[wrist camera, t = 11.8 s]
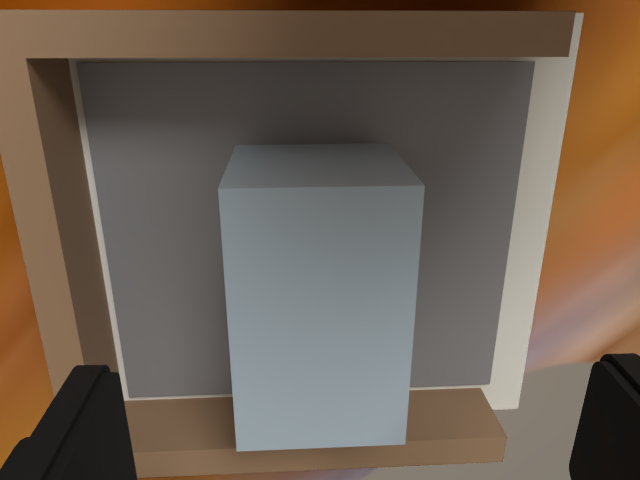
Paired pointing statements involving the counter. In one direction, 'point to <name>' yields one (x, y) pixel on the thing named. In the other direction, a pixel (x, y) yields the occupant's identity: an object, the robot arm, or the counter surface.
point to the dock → (278, 129)
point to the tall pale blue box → (320, 293)
